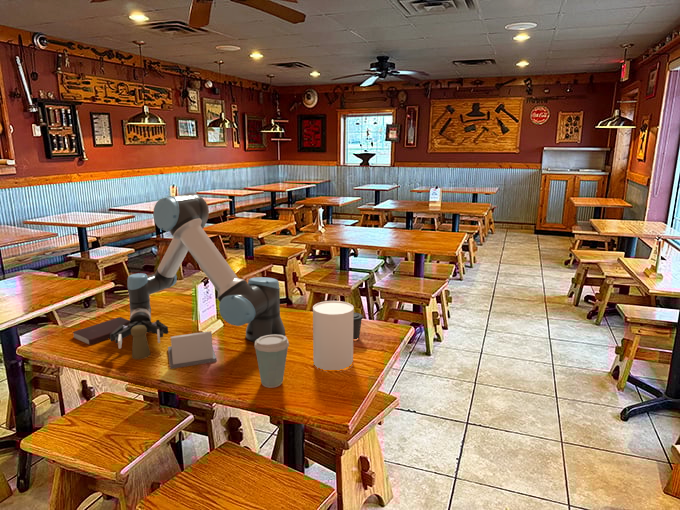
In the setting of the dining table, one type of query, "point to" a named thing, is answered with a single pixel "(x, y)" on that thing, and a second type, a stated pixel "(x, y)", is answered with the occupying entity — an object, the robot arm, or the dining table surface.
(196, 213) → the robot arm
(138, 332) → the cork
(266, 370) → the disposable coffee cup
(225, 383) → the dining table surface
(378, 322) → the dining table surface
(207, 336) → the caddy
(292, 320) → the dining table surface
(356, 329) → the coffee cup
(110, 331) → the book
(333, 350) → the canister
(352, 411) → the dining table surface
